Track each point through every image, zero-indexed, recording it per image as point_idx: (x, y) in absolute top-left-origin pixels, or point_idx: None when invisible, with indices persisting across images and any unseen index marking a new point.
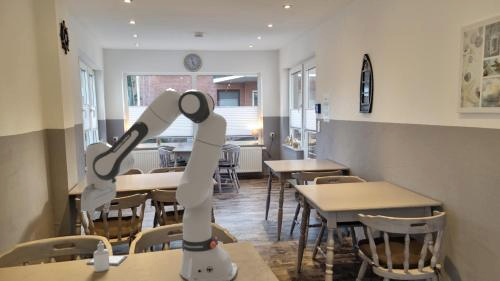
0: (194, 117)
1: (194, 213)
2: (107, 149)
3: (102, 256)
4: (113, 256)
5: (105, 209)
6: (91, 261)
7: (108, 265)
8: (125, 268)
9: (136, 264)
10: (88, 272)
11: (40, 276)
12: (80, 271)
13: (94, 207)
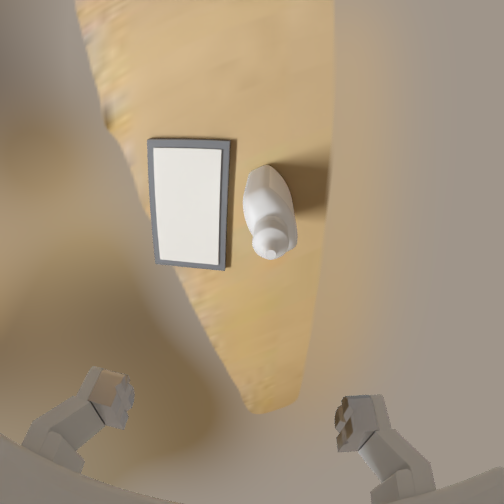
0: None
1: None
2: None
3: (288, 203)
4: (160, 195)
5: (117, 409)
6: (214, 259)
7: (270, 169)
8: (258, 96)
9: (217, 64)
10: None
11: (307, 348)
12: (282, 263)
13: (456, 501)
